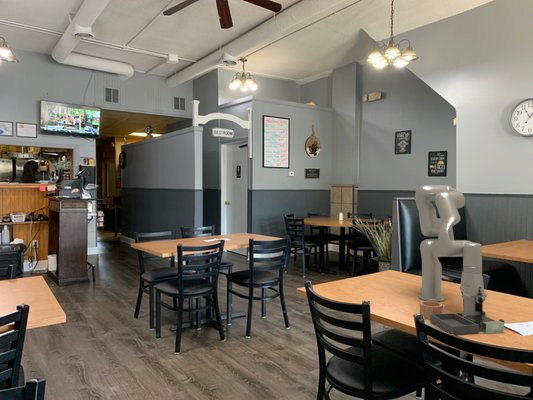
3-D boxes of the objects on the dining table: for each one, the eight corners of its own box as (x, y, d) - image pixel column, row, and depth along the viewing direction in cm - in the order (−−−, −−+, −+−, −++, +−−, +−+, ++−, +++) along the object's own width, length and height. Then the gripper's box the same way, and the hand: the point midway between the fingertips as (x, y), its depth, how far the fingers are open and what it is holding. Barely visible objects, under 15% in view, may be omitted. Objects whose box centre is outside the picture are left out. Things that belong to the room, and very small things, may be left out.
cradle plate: (463, 320, 171) (463, 315, 171) (482, 319, 173) (482, 314, 173) (478, 327, 162) (478, 322, 162) (497, 326, 164) (497, 321, 164)
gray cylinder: (475, 314, 182) (476, 288, 182) (485, 320, 175) (485, 293, 174) (459, 314, 182) (460, 289, 182) (468, 320, 175) (469, 293, 174)
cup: (416, 314, 183) (416, 301, 183) (434, 313, 184) (434, 300, 184) (427, 320, 174) (427, 307, 174) (446, 319, 176) (446, 306, 175)
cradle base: (457, 321, 173) (457, 312, 173) (483, 320, 175) (483, 311, 175) (481, 334, 158) (481, 324, 158) (509, 332, 160) (509, 322, 160)
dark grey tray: (430, 322, 172) (430, 314, 172) (454, 320, 174) (454, 312, 174) (452, 335, 157) (452, 326, 157) (478, 333, 159) (478, 324, 159)
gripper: (452, 266, 186) (453, 304, 186) (478, 274, 169) (478, 315, 169) (467, 266, 187) (467, 303, 187) (493, 273, 170) (494, 314, 170)
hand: (472, 308), depth 178 cm, fingers closed on gray cylinder, 7 cm apart
